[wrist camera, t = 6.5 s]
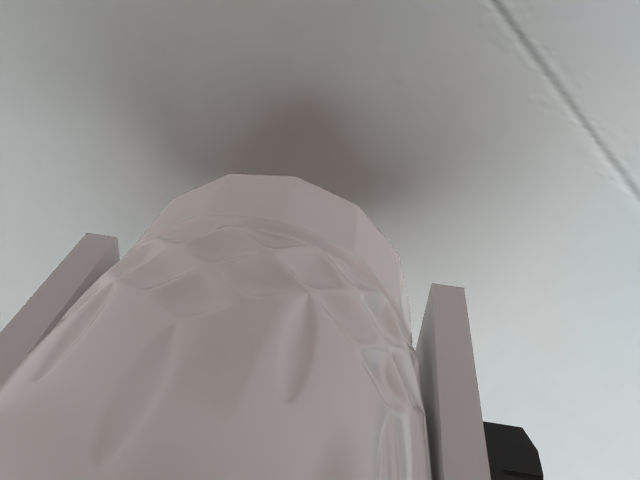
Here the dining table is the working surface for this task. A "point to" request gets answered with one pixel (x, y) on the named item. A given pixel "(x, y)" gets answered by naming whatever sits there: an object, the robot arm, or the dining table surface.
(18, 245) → the dining table surface
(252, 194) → the white cup
